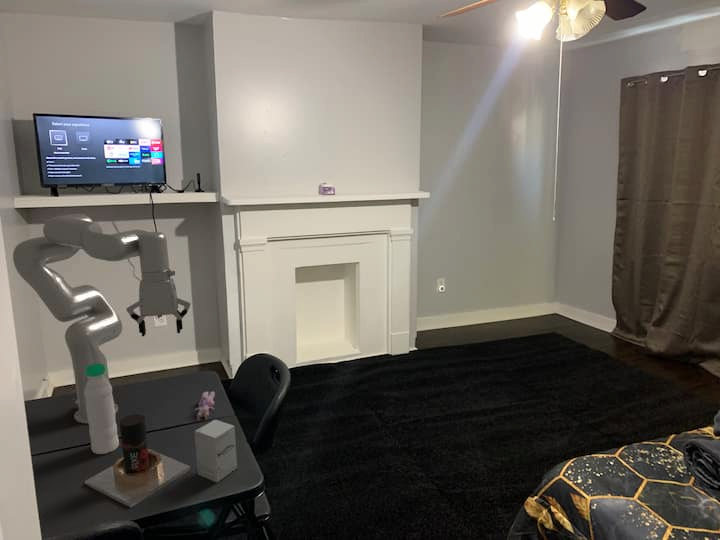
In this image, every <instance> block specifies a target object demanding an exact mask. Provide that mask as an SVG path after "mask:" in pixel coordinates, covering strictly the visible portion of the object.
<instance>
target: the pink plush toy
mask: <svg viewBox="0 0 720 540" xmlns="http://www.w3.org/2000/svg"><path fill="white" fill-rule="evenodd" d="M215 395H216V394H215V391H213V390H212V391H210V392H209V391H204V392H203V393H202V394H201V399H200V401H199V402H198V405H197V406H198V407H197V408H195V409H194V411H197V416H196V417H197V418H196V421H200V419H202V418H203V417H204V420H205V421H206V420H208V418H209V416H210V410H213V411H214V410H215V408H214V406H215V401H214V399H215Z"/></svg>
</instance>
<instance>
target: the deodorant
mask: <svg viewBox="0 0 720 540" xmlns="http://www.w3.org/2000/svg"><path fill="white" fill-rule="evenodd" d="M119 431H120V438H121V449H122V457H124V466H125V474H135V473H139V472H143V471H146V470H147V469H149V468H150V463H149V454H148V449H149V447H148V437H147V435H148V434H147V427H146V418H145V416H144V415H143V414H137V413H135V414H130V415H126V416H124V417H122V418H121V419H120V420H119Z"/></svg>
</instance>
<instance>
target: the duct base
mask: <svg viewBox="0 0 720 540" xmlns="http://www.w3.org/2000/svg"><path fill="white" fill-rule="evenodd" d="M148 454H149V463H150V468H149V469H147V470H146V471H143V472H139V473H135V474H125V466H124V457H123V456H122V457H121V458H119V459H117V460H116V461H115V463H114V464H113V465H111V466H109V467H107V468H105V469H104V470H102V471H101V472H98V473H97V474H95V475H94V476H92V477H90V478H88V479H85V481H84V483H85V486H86V485H87V486H88V487H90V488H91V489H94V490H96V491H98V492H99V493H101V494H103V495H105V496H108V497H109V498H111V499H113V500H115V501H117V502H118V503H121V504H122V505H124V506H127V507H128V508H132V507H135V506H136V505H138V504H139V503H141V502H142V501H144V500H145V499H147V498H149V497H151V496H152V495H153V494H155V493H157V492H158V491H160V490H161V489H162V488H165V486H167V485H169V484H170V483H172V482H174V481H175V480H177V479H178V478H180V477H182V476H183V475H184V474H186V473H188V472H189V471H190V470H191V466H190V465H188V464H187V463H186V464H185V463H183V462H180V461H178V460H176V459H174V458H172V457H170V456H166V455H164V454H162V453H159V452H157V451H155V450H153V449H149V448H148Z"/></svg>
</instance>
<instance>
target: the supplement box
mask: <svg viewBox="0 0 720 540" xmlns="http://www.w3.org/2000/svg"><path fill="white" fill-rule="evenodd" d="M235 432H236V430H235V425H233V424H230V423H227V422H223V421H221V420H217V419H213V420H211V421H210V422H208V423H207V424H204V425H203V426H201V427H199V428H197V429H196V430H195V431H194V443H195V454H196V455H195V457H196V467H197V469H196V470H197V475H198V476H201V477H203V478H205V479H208V480H210V481H212V482H215V483H219V482H220V481H222V479H224V478H225V477H227V476H228V475H230V474H231V473H232V471H233V472H234V471H236V470H237V469H238V461H237V446H236V433H235ZM236 468H237V469H236ZM235 469H236V470H235Z"/></svg>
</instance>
